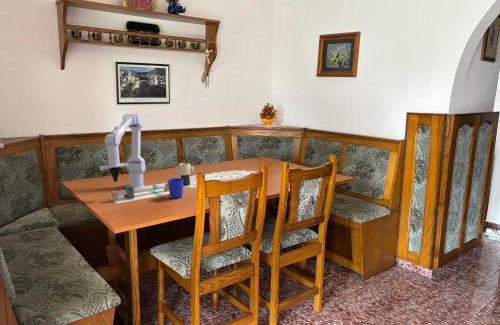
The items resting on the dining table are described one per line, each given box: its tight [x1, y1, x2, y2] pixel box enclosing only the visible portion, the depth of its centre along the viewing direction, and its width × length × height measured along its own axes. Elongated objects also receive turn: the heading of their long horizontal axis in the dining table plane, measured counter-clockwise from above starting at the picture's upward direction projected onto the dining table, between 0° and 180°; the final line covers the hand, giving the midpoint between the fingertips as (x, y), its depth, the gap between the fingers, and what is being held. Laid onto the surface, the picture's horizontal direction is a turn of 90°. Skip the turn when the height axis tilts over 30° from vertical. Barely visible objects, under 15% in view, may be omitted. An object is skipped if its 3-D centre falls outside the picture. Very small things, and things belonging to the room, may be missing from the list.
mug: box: [167, 177, 184, 200], centre depth 221 cm, size 8×12×10 cm
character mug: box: [175, 162, 195, 186], centre depth 246 cm, size 11×7×13 cm, turn 87°
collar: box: [122, 184, 135, 199], centre depth 218 cm, size 8×3×6 cm, turn 36°
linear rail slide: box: [109, 181, 170, 205], centre depth 222 cm, size 12×32×5 cm, turn 126°
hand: (115, 181), depth 216 cm, fingers closed
